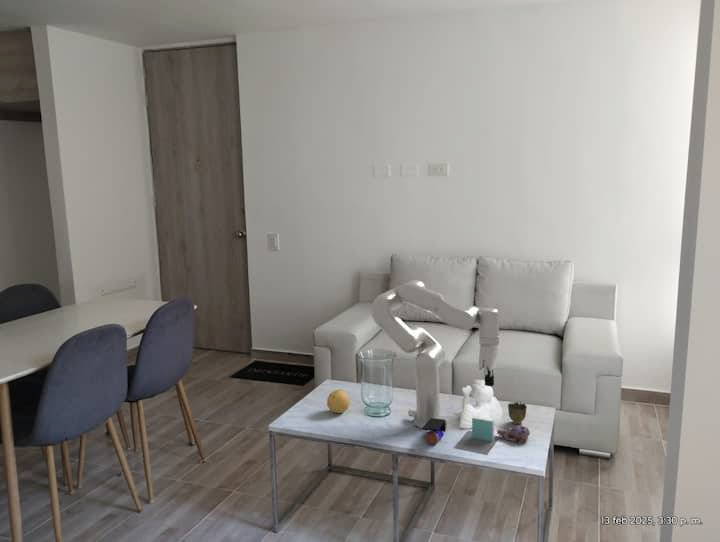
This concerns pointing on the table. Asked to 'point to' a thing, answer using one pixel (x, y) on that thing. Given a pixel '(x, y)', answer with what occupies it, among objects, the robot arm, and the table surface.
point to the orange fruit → (338, 401)
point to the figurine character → (434, 430)
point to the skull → (515, 434)
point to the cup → (517, 412)
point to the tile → (483, 428)
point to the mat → (475, 444)
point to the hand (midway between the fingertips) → (489, 385)
